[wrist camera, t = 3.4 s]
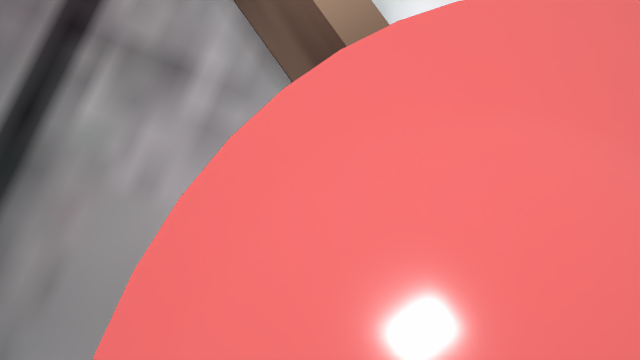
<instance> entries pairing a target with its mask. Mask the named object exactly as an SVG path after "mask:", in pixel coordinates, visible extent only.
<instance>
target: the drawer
mask: <svg viewBox="0 0 640 360" xmlns="http://www.w3.org/2000/svg"><path fill="white" fill-rule="evenodd" d="M234 1H235V2H236V4H237V5H238V6H239V8H240V9H241V11H242V12H243V13H244V15H245V16H246V18H247V19H248V20H249V22H250V23H251V25H252V26H253V27H254V29H255V30H256V32H257V33H258V34H259V36H260V37H261V39H262V40H263V41H264V43H265V44H266V46H267V47H268V48H269V50H270V51H271V53H272V54H273V55H274V57H275V58H276V60H277V61H278V62H279V64H280V65H281V67H282V68H283V69H284V71H285V72H286V74H287V75H288V76H289V78H290V79H291V81H292V82H294V81H296V80H297V79H298V78H300V77H301V76H303V75H304V74H306V73H307V72H309V71H310V70H312V69H313V68H314V67H316V66H317V65H319V64H320V63H322V62H323V61H325V60H326V59H328V58H329V57H330V56H332V55H333V54H335V53H336V52H338V51H339V50H341V49H343V48H345V47H347V46H349V45H351V44H353V43H355V42H357V41H359V40H361V39H363V38H365V37H367V36H369V35H371V34H373V33H375V32H377V31H379V30H381V29H383V28H385V27H387V26H389V24H388V22H387V21H386V20H385V18H384V17H383V15H382V14H381V13H380V11H379V10H378V9H377V7H376V6H375V5H374V3H373V2H372V1H371V0H234Z"/></svg>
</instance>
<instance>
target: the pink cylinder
mask: <svg viewBox="0 0 640 360" xmlns="http://www.w3.org/2000/svg"><path fill="white" fill-rule="evenodd" d="M93 360H640V0H463V1H458V2H454V3H451V4H448V5H445V6H442V7H439V8H436V9H433V10H430V11H427V12H424V13H421V14H418V15H415V16H412V17H409V18H406V19H403V20H400V21H397V22H395V23H393V24H391V25H389V26H387V27H385V28H383V29H381V30H379V31H377V32H375V33H373V34H371V35H369V36H367V37H365V38H363V39H361V40H359V41H357V42H355V43H353V44H351V45H349V46H347V47H345V48H343V49H341V50H339V51H338V52H336V53H335V54H333V55H332V56H330V57H329V58H328V59H326V60H325V61H323V62H322V63H320V64H319V65H317V66H316V67H314V68H313V69H312V70H310V71H309V72H307V73H306V74H304V75H303V76H301V77H300V78H298V79H297V80H296V81H294V82H293V83H291V84H290V85H288V86H287V87H285V88H284V89H283V90H282V91H281V92H280V93H278V94H277V95H276V96H275V97H274V98H273V99H272V100H271V101H270V102H269V103H267V104H266V105H265V106H264V107H263V108H262V109H261V110H260V111H259V112H258V113H257V114H255V115H254V116H253V117H252V118H251V119H250V120H249V121H248V122H247V123H246V124H244V125H243V126H242V127H241V128H240V129H239V130H238V131H237V132H236V133H235V134H234V135H232V136H231V137H230V138H229V140H228V141H227V142H226V143H225V144H224V146H223V147H222V148H221V149H220V150H219V152H218V153H217V154H216V155H215V156H214V158H213V159H212V160H211V161H210V162H209V164H208V165H207V166H206V167H205V168H204V169H203V171H202V172H201V173H200V174H199V175H198V177H197V178H196V179H195V180H194V181H193V183H192V184H191V185H190V186H189V187H188V189H187V190H186V191H185V192H184V193H183V195H182V196H181V197H180V198H179V200H178V201H177V203H176V205H175V206H174V208H173V209H172V211H171V212H170V214H169V216H168V217H167V219H166V220H165V222H164V224H163V225H162V227H161V228H160V230H159V231H158V233H157V235H156V236H155V238H154V239H153V241H152V243H151V244H150V246H149V247H148V249H147V250H146V252H145V254H144V255H143V257H142V258H141V260H140V262H139V263H138V265H137V266H136V268H135V269H134V271H133V273H132V275H131V278H130V280H129V282H128V284H127V286H126V288H125V290H124V293H123V295H122V297H121V299H120V301H119V303H118V305H117V308H116V310H115V312H114V314H113V316H112V318H111V320H110V323H109V325H108V327H107V329H106V331H105V333H104V336H103V338H102V340H101V342H100V344H99V346H98V348H97V351H96V353H95V355H94V358H93Z"/></svg>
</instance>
